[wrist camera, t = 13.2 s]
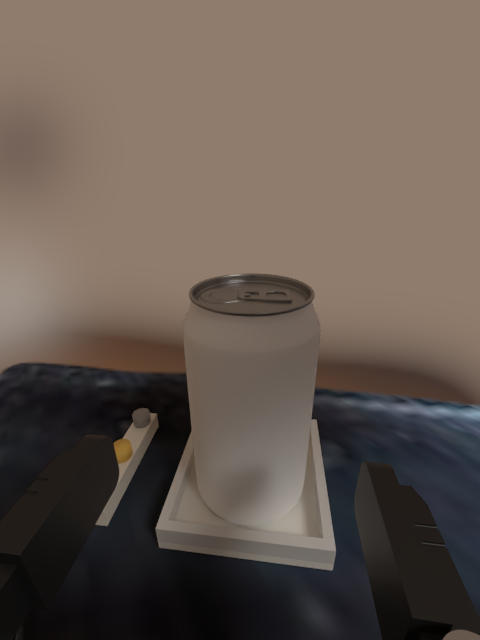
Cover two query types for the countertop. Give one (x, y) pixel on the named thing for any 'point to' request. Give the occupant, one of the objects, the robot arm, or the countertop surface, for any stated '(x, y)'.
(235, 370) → the can
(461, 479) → the countertop surface
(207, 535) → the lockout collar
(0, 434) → the countertop surface
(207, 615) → the countertop surface
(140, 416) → the indicator bank
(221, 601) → the countertop surface
